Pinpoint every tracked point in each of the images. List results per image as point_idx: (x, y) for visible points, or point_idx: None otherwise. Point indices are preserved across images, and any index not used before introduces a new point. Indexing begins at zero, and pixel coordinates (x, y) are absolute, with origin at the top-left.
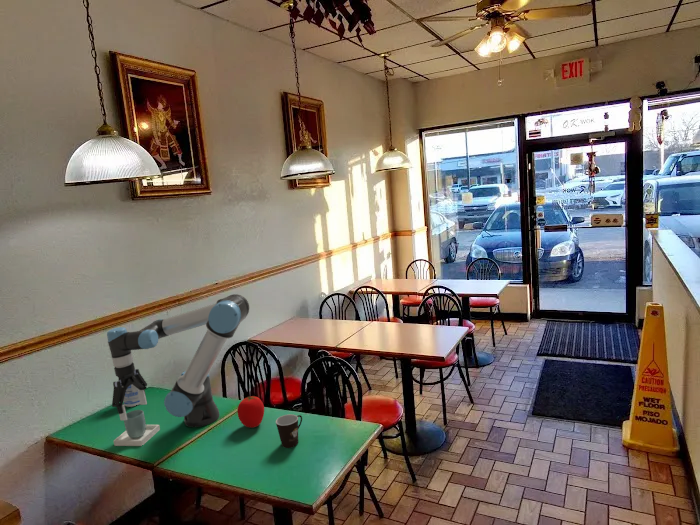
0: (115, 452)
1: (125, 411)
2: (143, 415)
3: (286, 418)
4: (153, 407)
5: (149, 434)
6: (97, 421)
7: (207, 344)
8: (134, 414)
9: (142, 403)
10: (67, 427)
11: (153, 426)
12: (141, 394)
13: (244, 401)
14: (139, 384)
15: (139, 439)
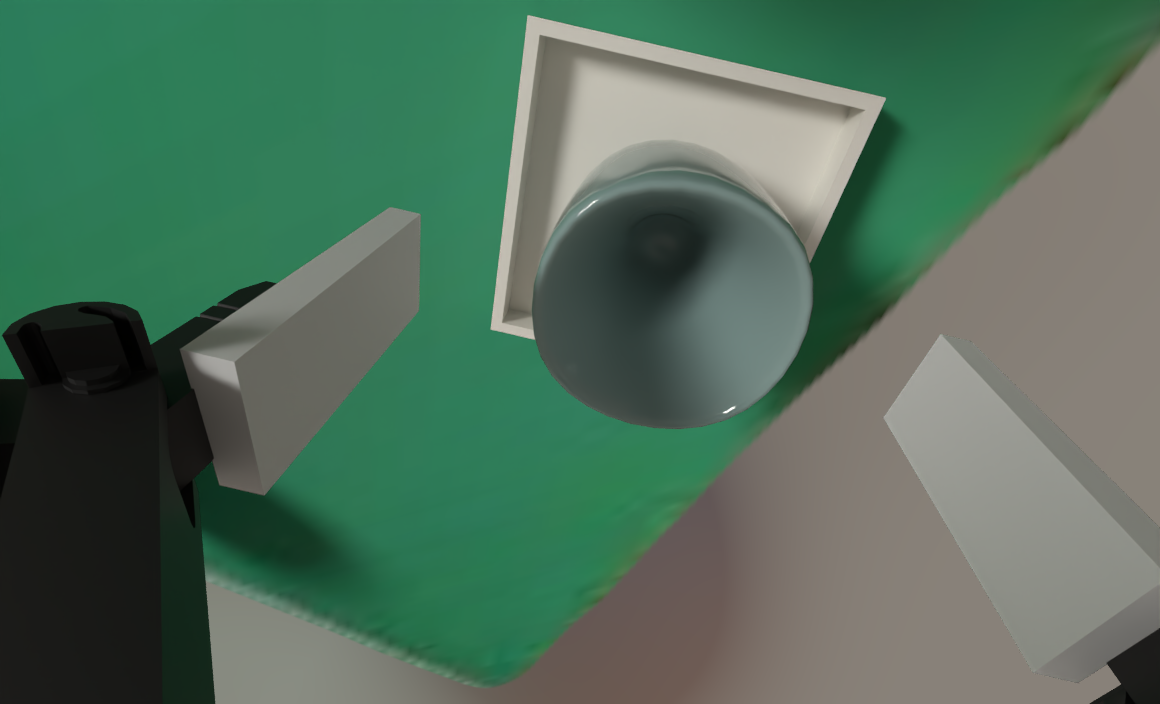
0: (872, 317)
1: (1033, 432)
2: (660, 165)
3: None
4: (134, 283)
5: (728, 61)
6: (371, 563)
7: None
8: (575, 324)
9: (410, 285)
10: (432, 656)
11: (535, 96)
12: (315, 361)
13: None
14: (87, 642)
15: (746, 168)
